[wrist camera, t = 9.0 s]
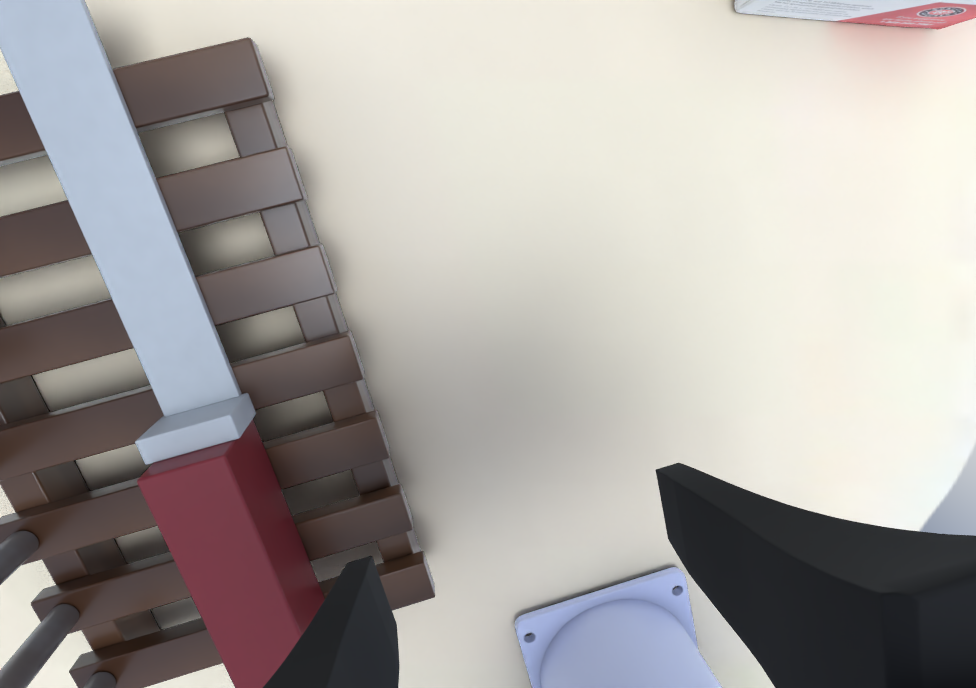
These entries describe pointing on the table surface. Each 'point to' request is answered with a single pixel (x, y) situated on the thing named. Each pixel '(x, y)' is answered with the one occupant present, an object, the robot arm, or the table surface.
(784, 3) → the ink cartridge box
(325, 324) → the drying rack
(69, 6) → the knife
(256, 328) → the table surface
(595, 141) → the table surface
